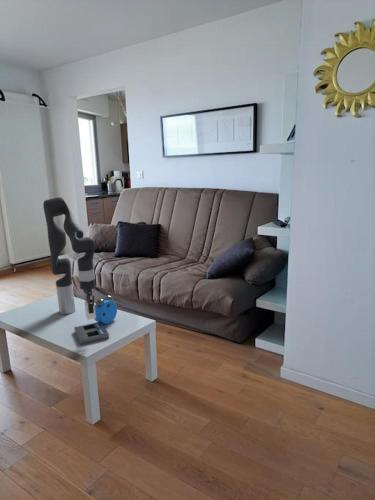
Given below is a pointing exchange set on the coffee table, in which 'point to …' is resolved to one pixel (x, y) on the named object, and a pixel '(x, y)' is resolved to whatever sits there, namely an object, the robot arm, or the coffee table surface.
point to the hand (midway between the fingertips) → (90, 311)
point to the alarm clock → (105, 310)
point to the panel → (91, 333)
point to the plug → (88, 316)
